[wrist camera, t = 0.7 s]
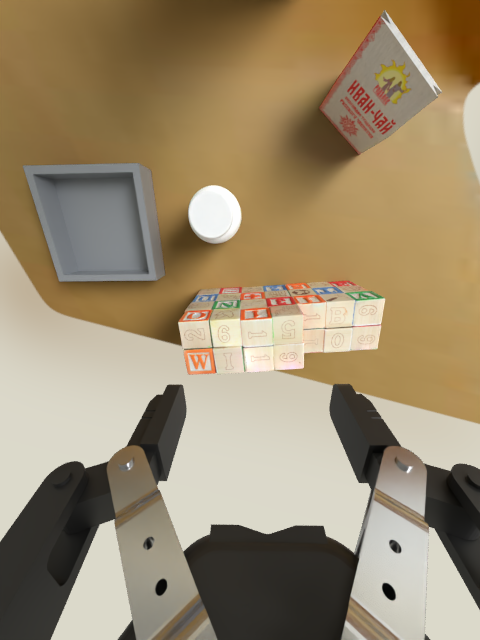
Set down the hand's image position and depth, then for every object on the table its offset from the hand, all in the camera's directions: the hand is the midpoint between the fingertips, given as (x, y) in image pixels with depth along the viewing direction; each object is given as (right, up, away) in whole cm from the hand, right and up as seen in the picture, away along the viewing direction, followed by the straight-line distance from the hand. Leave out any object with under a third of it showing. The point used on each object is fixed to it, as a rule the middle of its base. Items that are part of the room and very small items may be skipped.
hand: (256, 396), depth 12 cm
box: (-18, +16, +18) cm, 30 cm away
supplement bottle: (-3, +17, +17) cm, 25 cm away
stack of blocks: (+4, +6, +22) cm, 23 cm away
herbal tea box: (+12, +27, +13) cm, 32 cm away
